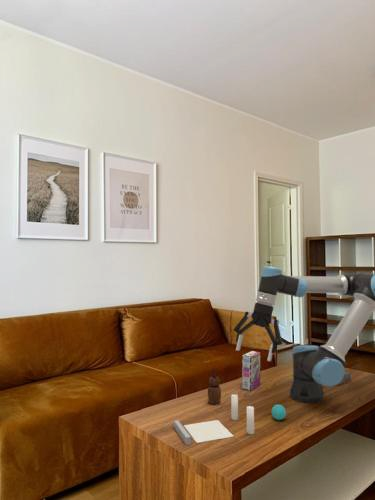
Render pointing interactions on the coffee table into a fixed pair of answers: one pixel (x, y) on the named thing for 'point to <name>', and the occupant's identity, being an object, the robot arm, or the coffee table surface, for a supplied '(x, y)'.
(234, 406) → the post
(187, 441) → the wall
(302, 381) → the robot arm
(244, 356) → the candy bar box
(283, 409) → the ball
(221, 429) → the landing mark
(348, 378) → the geological specimen
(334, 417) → the coffee table surface
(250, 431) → the post
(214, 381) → the wooden figurine
